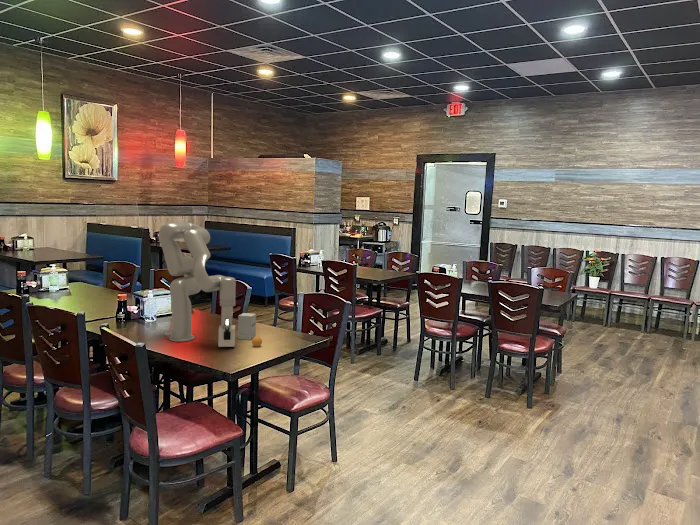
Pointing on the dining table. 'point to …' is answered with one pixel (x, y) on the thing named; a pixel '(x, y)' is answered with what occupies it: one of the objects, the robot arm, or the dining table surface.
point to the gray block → (226, 342)
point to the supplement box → (246, 326)
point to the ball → (256, 341)
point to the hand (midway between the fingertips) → (227, 337)
